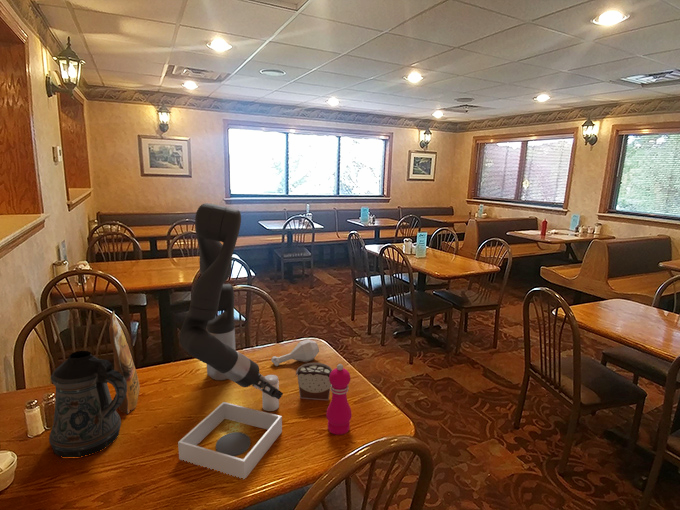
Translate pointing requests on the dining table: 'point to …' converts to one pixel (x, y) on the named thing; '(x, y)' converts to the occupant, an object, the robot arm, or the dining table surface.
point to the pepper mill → (339, 402)
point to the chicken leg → (299, 352)
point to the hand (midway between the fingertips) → (275, 392)
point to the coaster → (233, 443)
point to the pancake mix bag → (124, 364)
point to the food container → (314, 381)
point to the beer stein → (85, 405)
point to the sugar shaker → (269, 401)
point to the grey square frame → (224, 461)
